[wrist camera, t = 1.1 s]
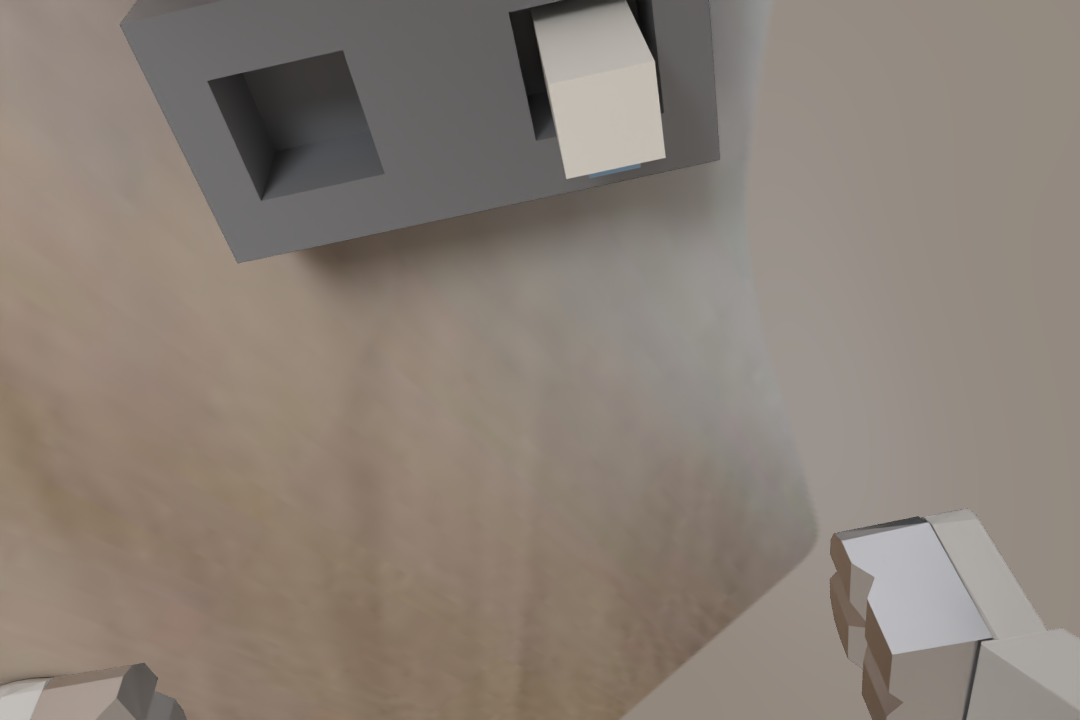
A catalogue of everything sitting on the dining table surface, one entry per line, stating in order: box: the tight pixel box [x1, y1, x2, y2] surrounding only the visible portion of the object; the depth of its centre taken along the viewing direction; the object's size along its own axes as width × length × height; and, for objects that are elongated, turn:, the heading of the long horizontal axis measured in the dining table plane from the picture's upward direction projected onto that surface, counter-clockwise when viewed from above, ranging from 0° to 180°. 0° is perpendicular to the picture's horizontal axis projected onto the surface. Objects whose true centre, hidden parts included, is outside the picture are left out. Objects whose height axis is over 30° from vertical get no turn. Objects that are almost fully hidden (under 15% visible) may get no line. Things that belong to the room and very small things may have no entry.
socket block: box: [119, 0, 720, 263], centre depth 36 cm, size 10×20×5 cm, turn 101°
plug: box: [530, 0, 666, 179], centre depth 33 cm, size 4×3×9 cm
